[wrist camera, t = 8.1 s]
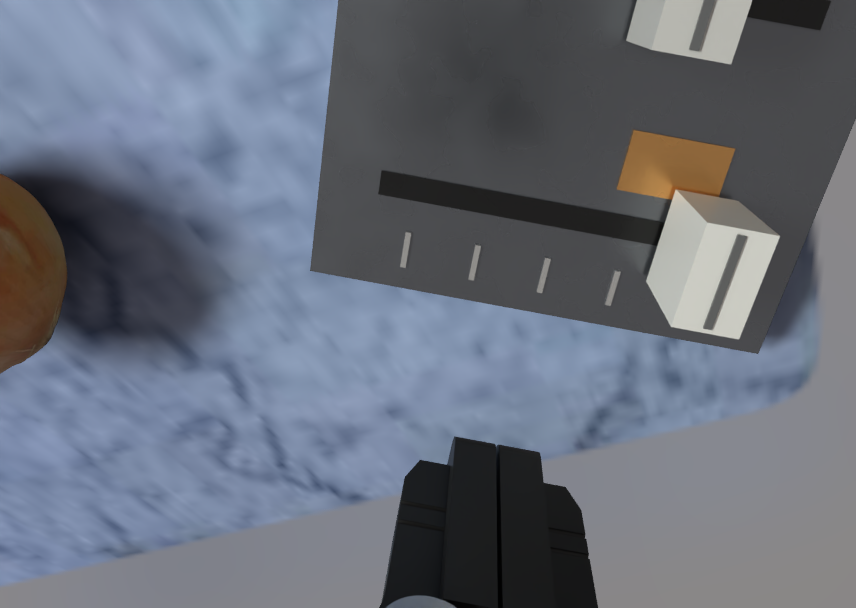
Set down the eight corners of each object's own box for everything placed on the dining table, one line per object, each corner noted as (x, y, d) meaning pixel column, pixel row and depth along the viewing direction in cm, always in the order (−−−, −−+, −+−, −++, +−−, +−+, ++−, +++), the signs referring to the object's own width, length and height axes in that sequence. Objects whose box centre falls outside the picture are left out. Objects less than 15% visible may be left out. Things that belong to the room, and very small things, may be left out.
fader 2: (675, 189, 28) (708, 223, 24) (738, 200, 28) (781, 237, 24) (646, 281, 29) (671, 328, 25) (704, 292, 29) (739, 340, 25)
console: (371, -208, 25) (361, -224, 23) (918, -107, 25) (954, -116, 23) (320, 255, 33) (309, 271, 31) (743, 333, 33) (759, 355, 31)
